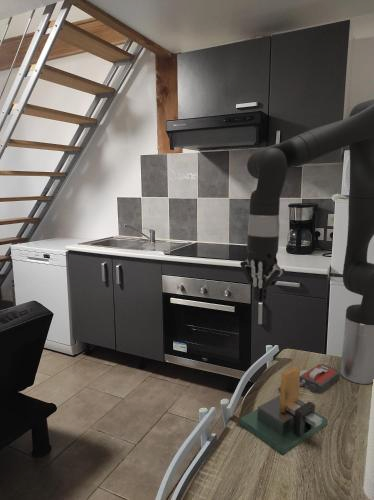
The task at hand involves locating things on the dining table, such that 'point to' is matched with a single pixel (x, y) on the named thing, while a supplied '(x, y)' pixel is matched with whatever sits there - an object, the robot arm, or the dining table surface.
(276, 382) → the dining table surface
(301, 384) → the walkie-talkie
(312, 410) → the green tiered platform
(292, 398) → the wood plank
